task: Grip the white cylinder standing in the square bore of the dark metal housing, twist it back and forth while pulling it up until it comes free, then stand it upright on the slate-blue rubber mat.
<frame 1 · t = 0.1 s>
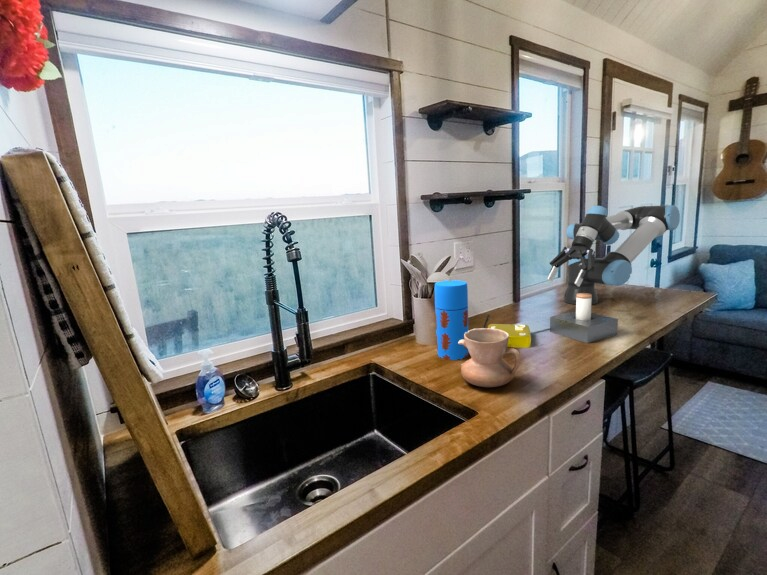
hand: (562, 282, 161), 15 cm above the counter, tool tilted 35°, fingers open, 13 cm apart
thermos: (452, 354, 131), on the counter
housing: (582, 333, 143), on the counter
ceramic jug: (488, 382, 109), on the counter
element tile: (508, 341, 141), on the counter
white cylinder: (583, 314, 142), in the housing
mat: (528, 328, 153), on the counter
cocoa: (477, 346, 138), on the counter
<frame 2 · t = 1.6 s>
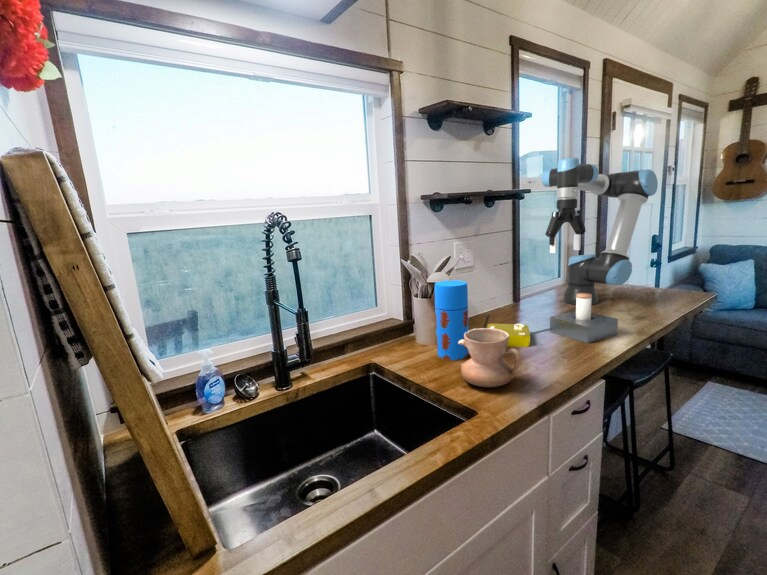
hand: (565, 251, 156), 29 cm above the counter, tool pointing down, fingers open, 13 cm apart
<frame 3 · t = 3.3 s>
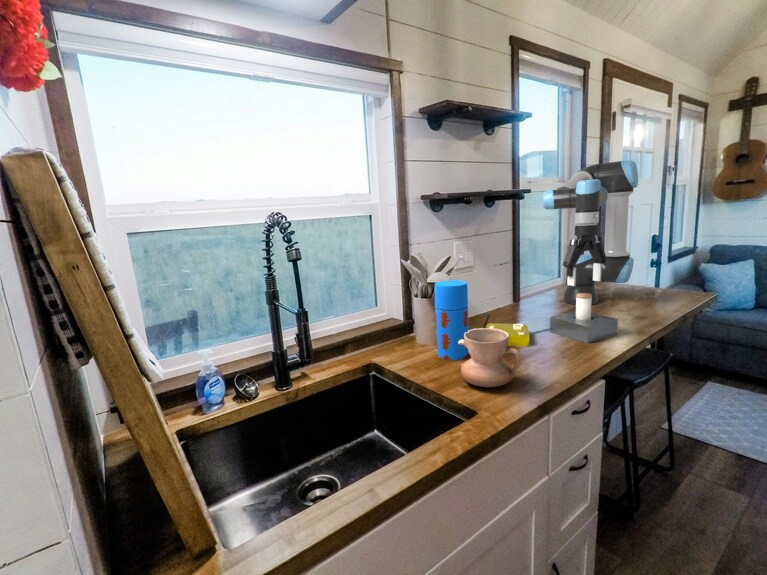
hand: (584, 283, 139), 19 cm above the counter, tool pointing down, fingers open, 13 cm apart
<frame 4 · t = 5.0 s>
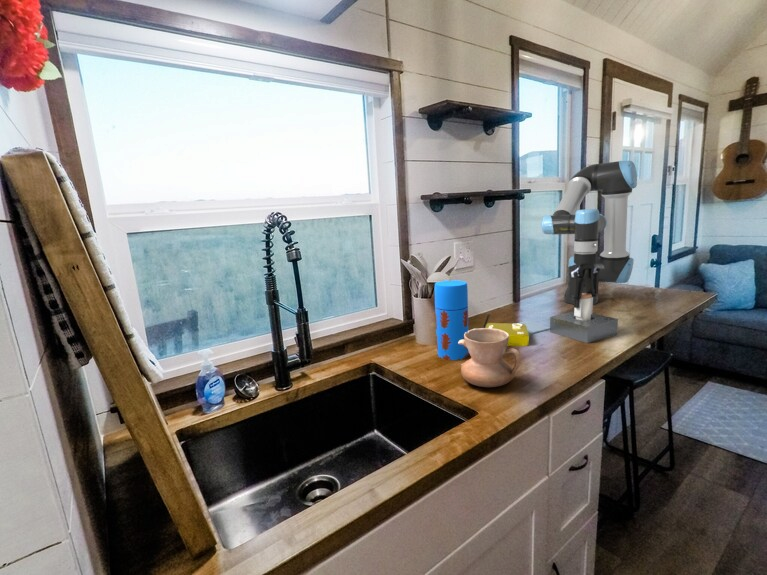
hand: (583, 314, 142), 7 cm above the counter, tool pointing down, fingers closed on white cylinder, 5 cm apart
white cylinder: (583, 314, 142), in the housing, touching gripper
when the fingers open (9 cm above the counter, at t = 14.2 s): white cylinder drops 1 cm, resting on mat.
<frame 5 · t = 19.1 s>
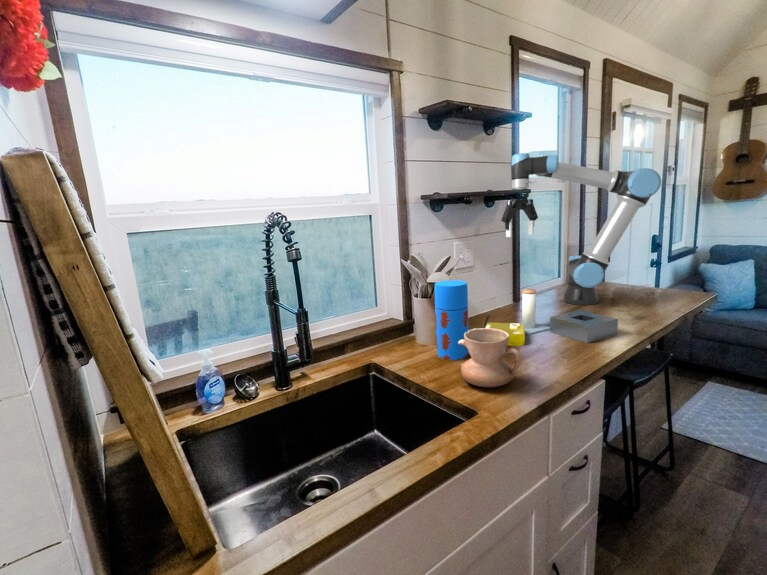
hand: (519, 235, 178), 35 cm above the counter, tool pointing down, fingers open, 13 cm apart
element tile: (503, 339, 144), on the counter
white cylinder: (528, 308, 151), on the mat, point 8 cm above the counter
everything else where it was.
at the end: white cylinder inside the target area on the mat (0.1 cm from its centre), point 8.1 cm above the mat's base; white cylinder tilted 1°; the gripper is holding nothing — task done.
